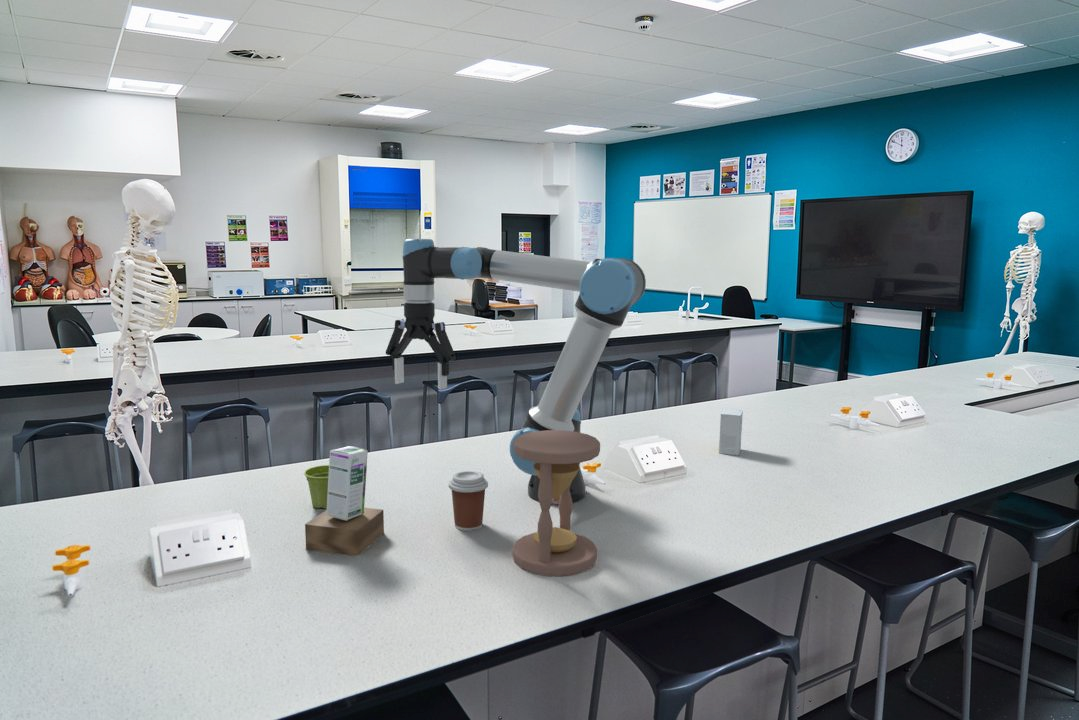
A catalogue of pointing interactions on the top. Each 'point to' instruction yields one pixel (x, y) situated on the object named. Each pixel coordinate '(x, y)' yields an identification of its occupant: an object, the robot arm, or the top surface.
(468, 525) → the coffee cup
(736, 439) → the small box
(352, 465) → the syrup box
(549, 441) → the hourglass
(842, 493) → the top surface
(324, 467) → the plant pot
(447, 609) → the top surface
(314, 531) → the base block
